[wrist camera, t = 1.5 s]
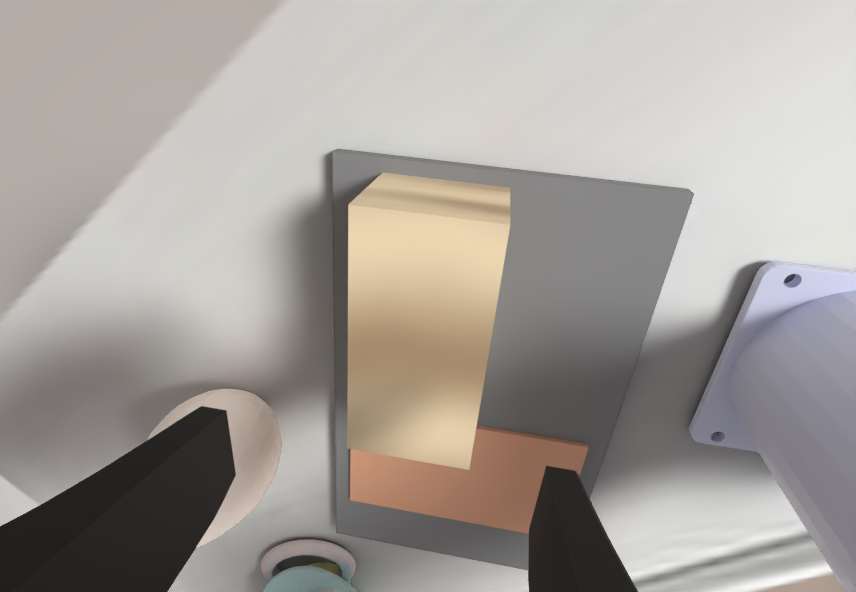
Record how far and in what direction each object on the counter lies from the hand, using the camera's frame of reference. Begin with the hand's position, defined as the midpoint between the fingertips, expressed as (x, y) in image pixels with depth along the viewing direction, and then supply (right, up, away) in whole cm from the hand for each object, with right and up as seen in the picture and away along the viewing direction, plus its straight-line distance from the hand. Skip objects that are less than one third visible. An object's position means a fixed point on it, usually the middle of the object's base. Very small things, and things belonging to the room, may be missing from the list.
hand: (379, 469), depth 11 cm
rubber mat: (+3, -1, +10) cm, 11 cm away
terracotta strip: (+3, -4, +12) cm, 13 cm away
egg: (-8, -1, +13) cm, 15 cm away
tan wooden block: (+1, +4, +8) cm, 9 cm away
